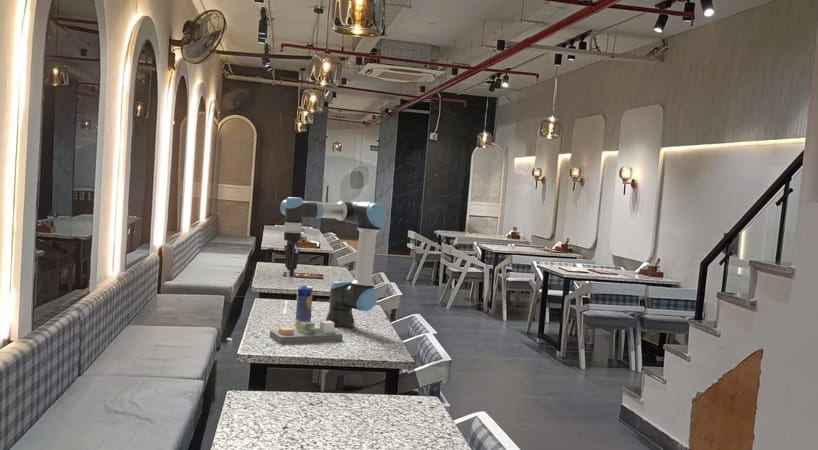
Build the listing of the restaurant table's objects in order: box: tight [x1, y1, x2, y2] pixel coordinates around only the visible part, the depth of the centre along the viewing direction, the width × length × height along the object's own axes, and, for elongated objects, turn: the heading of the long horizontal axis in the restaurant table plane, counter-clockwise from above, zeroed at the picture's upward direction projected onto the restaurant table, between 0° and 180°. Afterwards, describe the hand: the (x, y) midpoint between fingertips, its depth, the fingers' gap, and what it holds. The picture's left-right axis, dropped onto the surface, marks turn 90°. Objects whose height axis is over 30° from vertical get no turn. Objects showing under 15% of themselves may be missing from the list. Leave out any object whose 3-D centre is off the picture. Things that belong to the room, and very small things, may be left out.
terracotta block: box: [278, 326, 294, 335], centre depth 324 cm, size 5×5×5 cm
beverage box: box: [294, 285, 314, 329], centre depth 346 cm, size 7×11×22 cm, turn 10°
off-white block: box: [319, 320, 335, 333], centre depth 334 cm, size 5×5×5 cm
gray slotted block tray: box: [269, 327, 344, 345], centre depth 329 cm, size 30×14×4 cm, turn 121°
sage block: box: [300, 321, 315, 334], centre depth 329 cm, size 5×5×5 cm
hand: (290, 283), depth 323 cm, fingers closed
